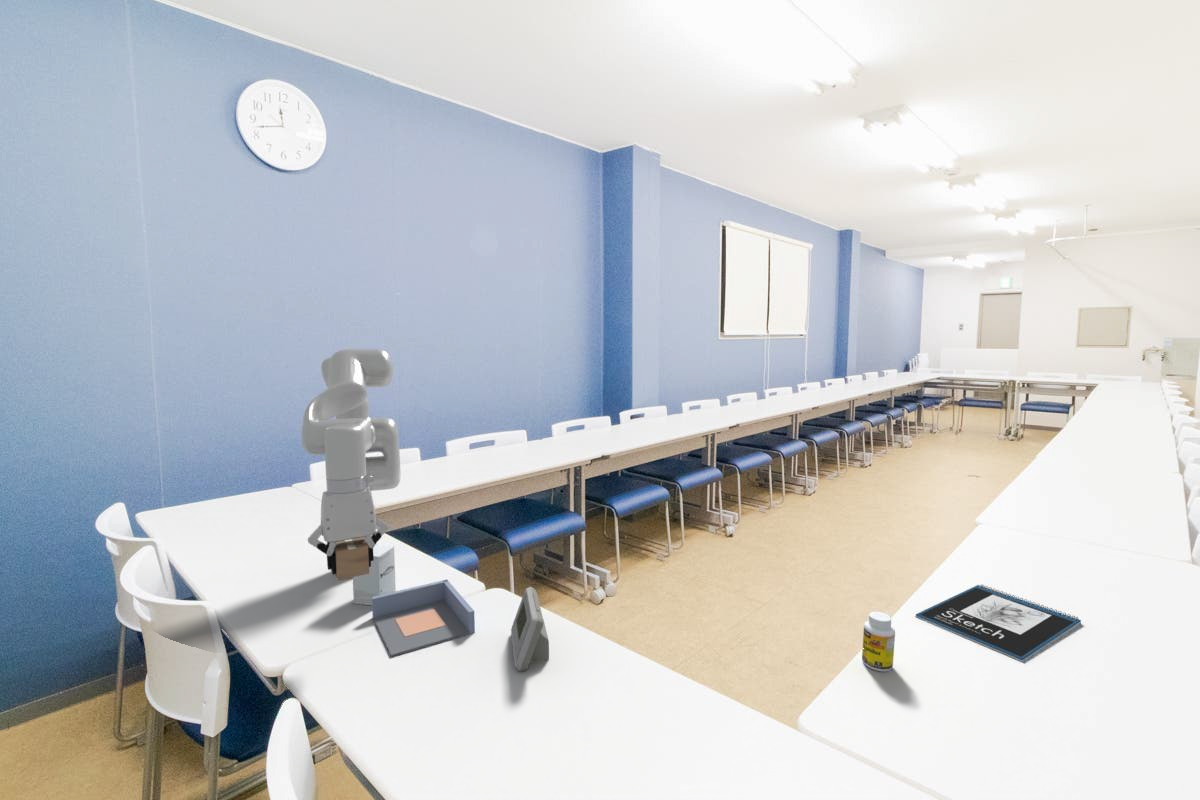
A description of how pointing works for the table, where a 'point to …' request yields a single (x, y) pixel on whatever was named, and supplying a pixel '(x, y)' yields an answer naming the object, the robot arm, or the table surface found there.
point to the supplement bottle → (878, 642)
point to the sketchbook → (1000, 621)
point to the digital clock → (529, 632)
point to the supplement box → (376, 576)
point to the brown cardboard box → (351, 558)
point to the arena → (422, 616)
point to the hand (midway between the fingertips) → (351, 567)
